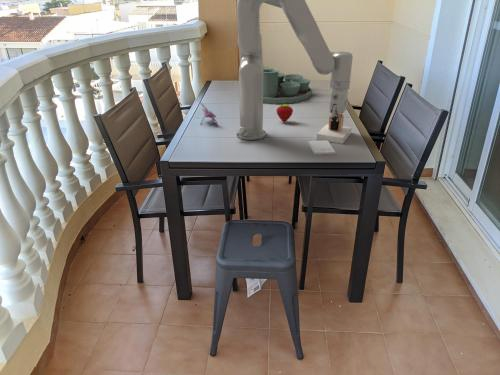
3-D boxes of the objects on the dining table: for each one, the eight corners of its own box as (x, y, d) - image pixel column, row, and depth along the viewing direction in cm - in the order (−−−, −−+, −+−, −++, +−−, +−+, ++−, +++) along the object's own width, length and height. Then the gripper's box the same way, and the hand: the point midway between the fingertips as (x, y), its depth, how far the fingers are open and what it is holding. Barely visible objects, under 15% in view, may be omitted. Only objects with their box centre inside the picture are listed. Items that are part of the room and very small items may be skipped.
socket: (342, 143, 162) (343, 137, 161) (316, 139, 167) (316, 133, 165) (351, 133, 173) (351, 127, 172) (326, 129, 178) (327, 123, 176)
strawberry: (292, 124, 184) (293, 103, 179) (275, 123, 185) (276, 102, 180) (292, 120, 189) (293, 99, 184) (276, 119, 190) (277, 98, 185)
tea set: (320, 102, 216) (322, 71, 209) (246, 106, 210) (246, 74, 203) (300, 85, 251) (301, 57, 243) (236, 88, 245) (235, 60, 238)
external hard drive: (328, 144, 164) (335, 155, 153) (308, 144, 163) (314, 156, 152) (328, 140, 163) (336, 151, 152) (308, 140, 163) (314, 152, 152)
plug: (339, 136, 168) (341, 118, 165) (327, 135, 170) (329, 116, 167) (342, 133, 172) (343, 115, 168) (330, 132, 174) (332, 114, 170)
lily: (216, 130, 180) (223, 110, 179) (191, 120, 178) (198, 100, 177) (214, 130, 192) (221, 110, 191) (191, 120, 190) (198, 101, 189)
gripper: (343, 90, 153) (339, 135, 162) (354, 81, 166) (349, 123, 175) (324, 88, 156) (321, 133, 165) (336, 79, 169) (332, 121, 178)
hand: (335, 127), depth 170 cm, fingers closed on plug, 3 cm apart
